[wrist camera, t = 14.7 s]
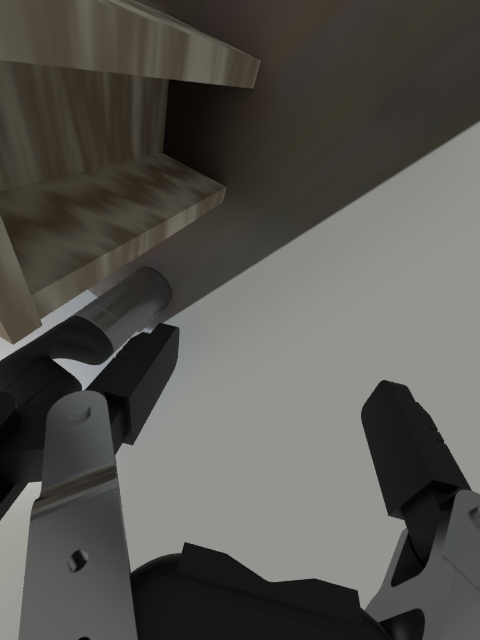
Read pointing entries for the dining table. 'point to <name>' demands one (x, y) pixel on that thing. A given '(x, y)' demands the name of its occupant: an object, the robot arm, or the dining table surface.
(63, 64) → the wooden open box
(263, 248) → the dining table surface
